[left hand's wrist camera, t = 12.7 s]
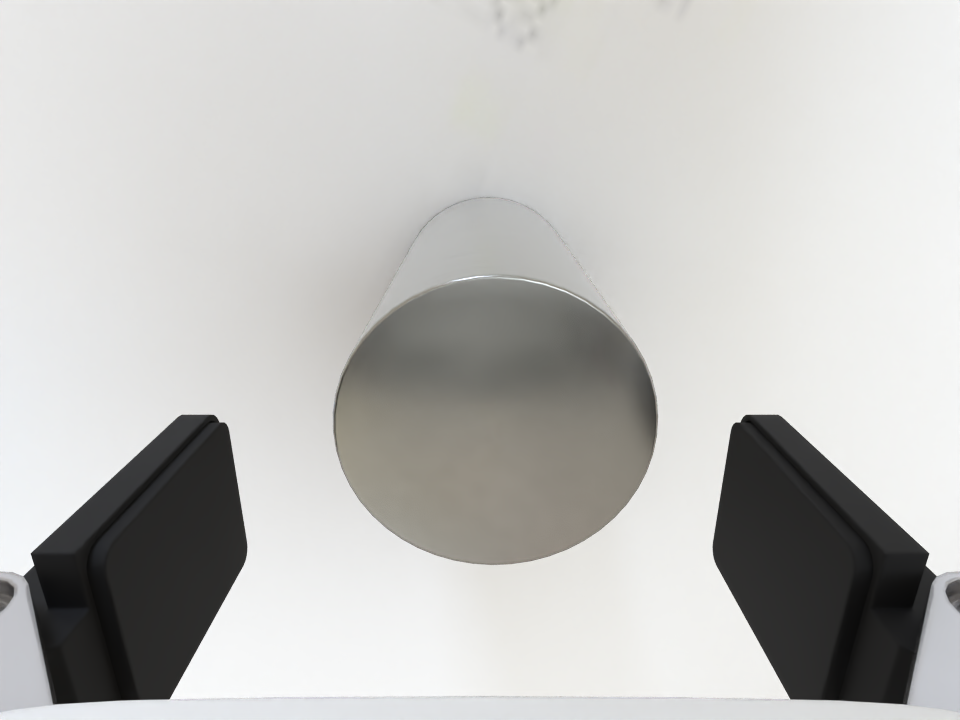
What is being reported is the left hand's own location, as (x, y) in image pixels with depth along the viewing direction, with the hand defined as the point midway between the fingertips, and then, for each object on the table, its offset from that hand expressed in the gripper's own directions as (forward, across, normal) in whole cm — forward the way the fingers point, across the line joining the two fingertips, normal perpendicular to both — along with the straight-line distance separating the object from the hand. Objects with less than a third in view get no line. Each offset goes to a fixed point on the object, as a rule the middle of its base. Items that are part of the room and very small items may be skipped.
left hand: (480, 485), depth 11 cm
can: (+14, 0, +1) cm, 14 cm away
